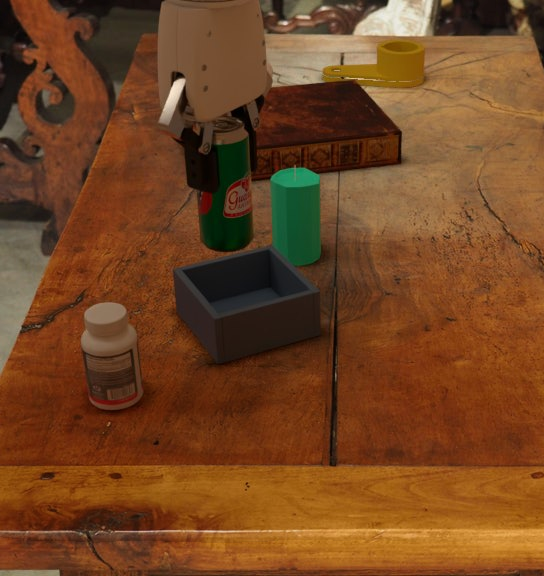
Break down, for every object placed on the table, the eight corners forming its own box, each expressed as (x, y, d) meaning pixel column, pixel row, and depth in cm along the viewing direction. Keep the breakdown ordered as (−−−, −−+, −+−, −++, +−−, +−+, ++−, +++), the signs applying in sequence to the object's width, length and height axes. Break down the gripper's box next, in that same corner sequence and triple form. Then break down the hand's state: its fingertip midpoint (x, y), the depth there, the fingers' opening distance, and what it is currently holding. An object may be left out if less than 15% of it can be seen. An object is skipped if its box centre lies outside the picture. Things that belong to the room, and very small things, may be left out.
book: (201, 186, 150) (199, 153, 148) (175, 125, 170) (172, 95, 167) (401, 163, 159) (402, 132, 156) (354, 108, 178) (354, 79, 176)
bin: (217, 364, 112) (214, 319, 109) (176, 311, 121) (172, 268, 118) (320, 335, 117) (320, 290, 115) (273, 286, 126) (272, 244, 124)
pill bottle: (101, 378, 110) (89, 295, 105) (151, 383, 109) (142, 300, 104) (80, 409, 105) (67, 324, 100) (133, 415, 104) (122, 329, 99)
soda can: (235, 259, 99) (228, 138, 93) (190, 247, 101) (180, 128, 95) (264, 237, 103) (259, 119, 97) (219, 226, 105) (212, 110, 99)
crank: (422, 72, 195) (423, 39, 192) (424, 87, 188) (426, 54, 185) (323, 71, 194) (323, 38, 191) (321, 86, 187) (321, 53, 184)
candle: (293, 270, 130) (290, 180, 124) (263, 253, 134) (259, 164, 128) (331, 255, 133) (330, 166, 127) (300, 238, 137) (299, 151, 131)
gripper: (237, -46, 98) (246, 140, 107) (105, -6, 85) (128, 202, 94) (305, -34, 95) (309, 157, 104) (178, 9, 82) (195, 223, 91)
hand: (223, 176), depth 99 cm, fingers closed on soda can, 5 cm apart
